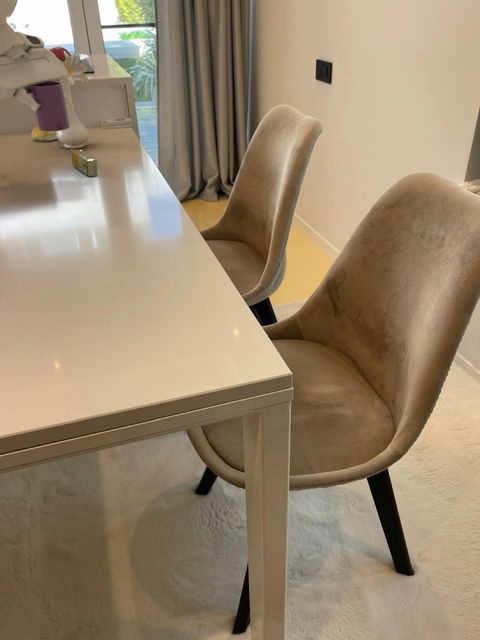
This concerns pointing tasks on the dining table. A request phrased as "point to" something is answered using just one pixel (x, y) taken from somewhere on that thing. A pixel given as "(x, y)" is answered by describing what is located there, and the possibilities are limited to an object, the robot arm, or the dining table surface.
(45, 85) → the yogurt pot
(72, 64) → the flower vase
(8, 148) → the dining table surface
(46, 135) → the bread roll
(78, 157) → the medication box
